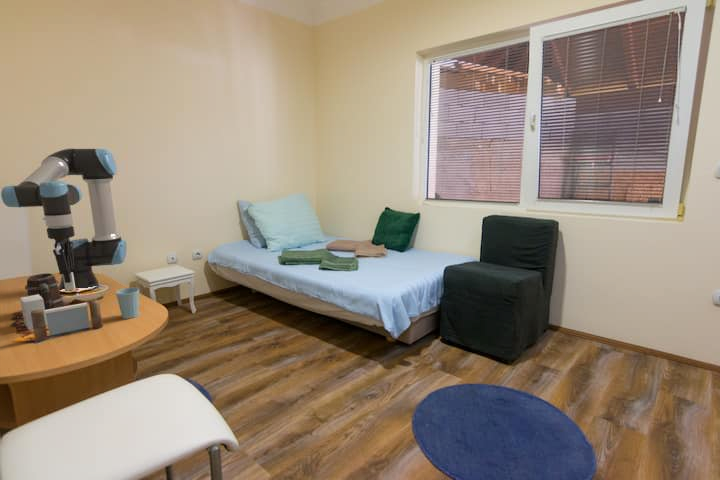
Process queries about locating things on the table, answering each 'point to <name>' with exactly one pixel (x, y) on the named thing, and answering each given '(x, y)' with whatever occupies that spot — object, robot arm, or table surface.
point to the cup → (128, 302)
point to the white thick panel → (67, 318)
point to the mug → (45, 290)
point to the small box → (31, 308)
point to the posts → (41, 332)
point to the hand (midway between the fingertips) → (70, 290)
